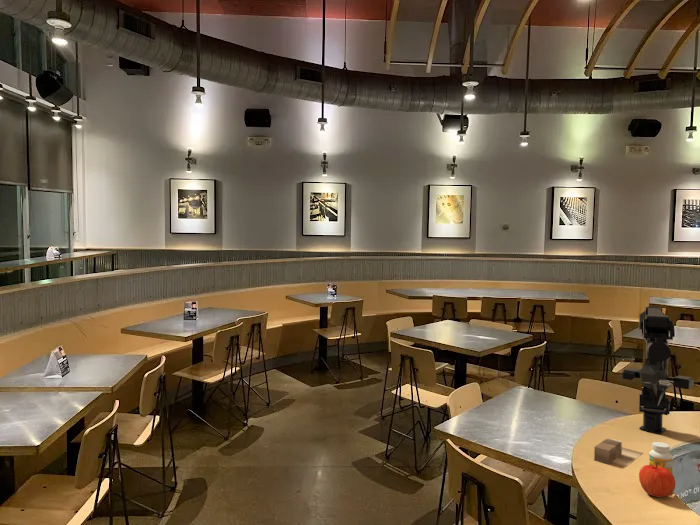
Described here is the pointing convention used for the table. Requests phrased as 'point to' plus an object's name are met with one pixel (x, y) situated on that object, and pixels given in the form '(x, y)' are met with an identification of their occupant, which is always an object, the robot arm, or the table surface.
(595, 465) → the table surface
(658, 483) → the apple
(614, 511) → the table surface
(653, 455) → the supplement bottle
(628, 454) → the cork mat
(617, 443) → the walnut block
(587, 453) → the table surface
